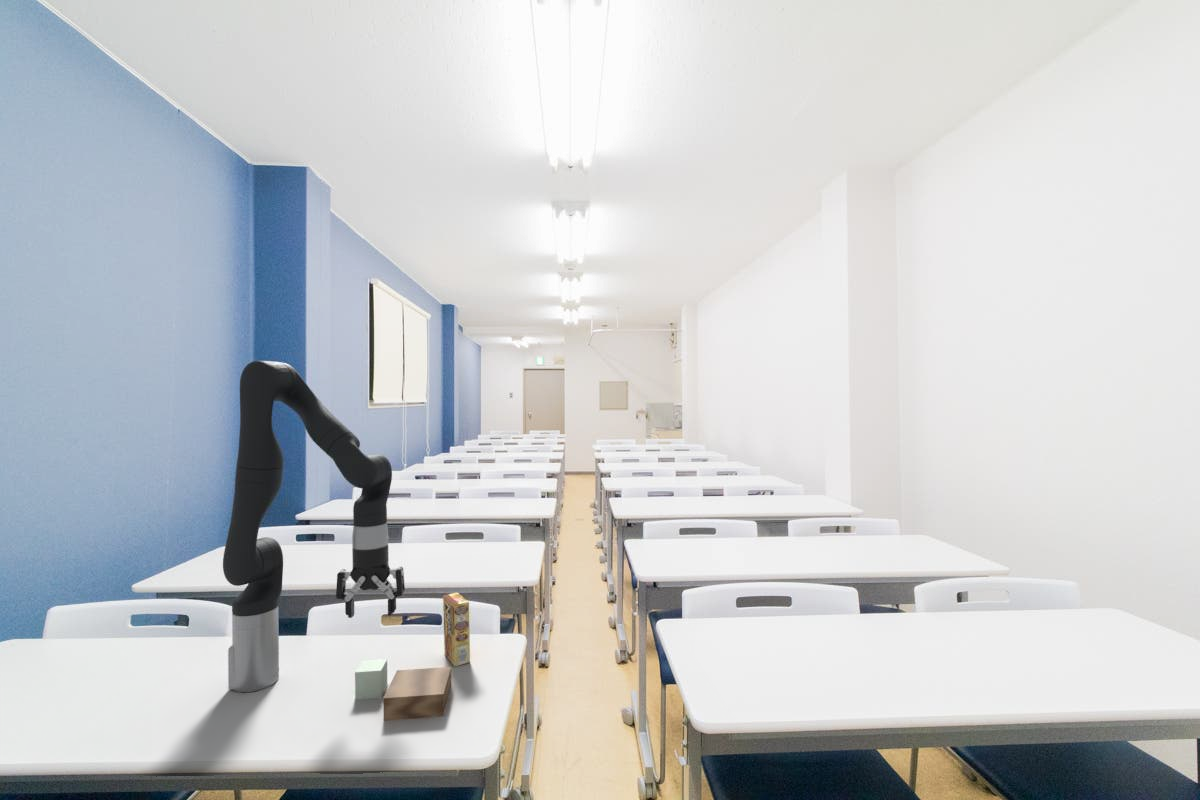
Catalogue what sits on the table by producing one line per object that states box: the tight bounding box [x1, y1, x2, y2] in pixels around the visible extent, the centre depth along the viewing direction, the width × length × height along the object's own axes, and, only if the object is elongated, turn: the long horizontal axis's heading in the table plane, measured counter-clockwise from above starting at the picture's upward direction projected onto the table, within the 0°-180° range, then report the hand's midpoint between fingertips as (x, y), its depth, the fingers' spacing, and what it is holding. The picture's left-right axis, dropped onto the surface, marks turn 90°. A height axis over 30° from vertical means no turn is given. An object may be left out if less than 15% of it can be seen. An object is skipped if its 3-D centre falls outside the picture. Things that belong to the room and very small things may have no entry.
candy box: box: [442, 592, 471, 667], centre depth 142 cm, size 9×4×15 cm, turn 33°
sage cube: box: [354, 658, 388, 700], centre depth 126 cm, size 6×6×6 cm
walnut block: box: [382, 666, 452, 722], centre depth 121 cm, size 12×12×5 cm
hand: (371, 615), depth 126 cm, fingers open, 8 cm apart
